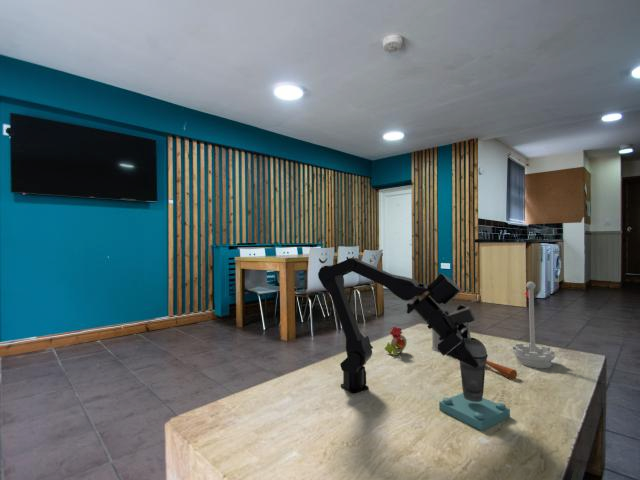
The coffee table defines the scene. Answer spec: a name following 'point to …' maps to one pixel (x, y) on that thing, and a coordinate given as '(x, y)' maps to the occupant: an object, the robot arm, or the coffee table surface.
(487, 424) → the base brick
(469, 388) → the beverage cup
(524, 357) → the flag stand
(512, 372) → the kendama
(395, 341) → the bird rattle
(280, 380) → the coffee table surface
